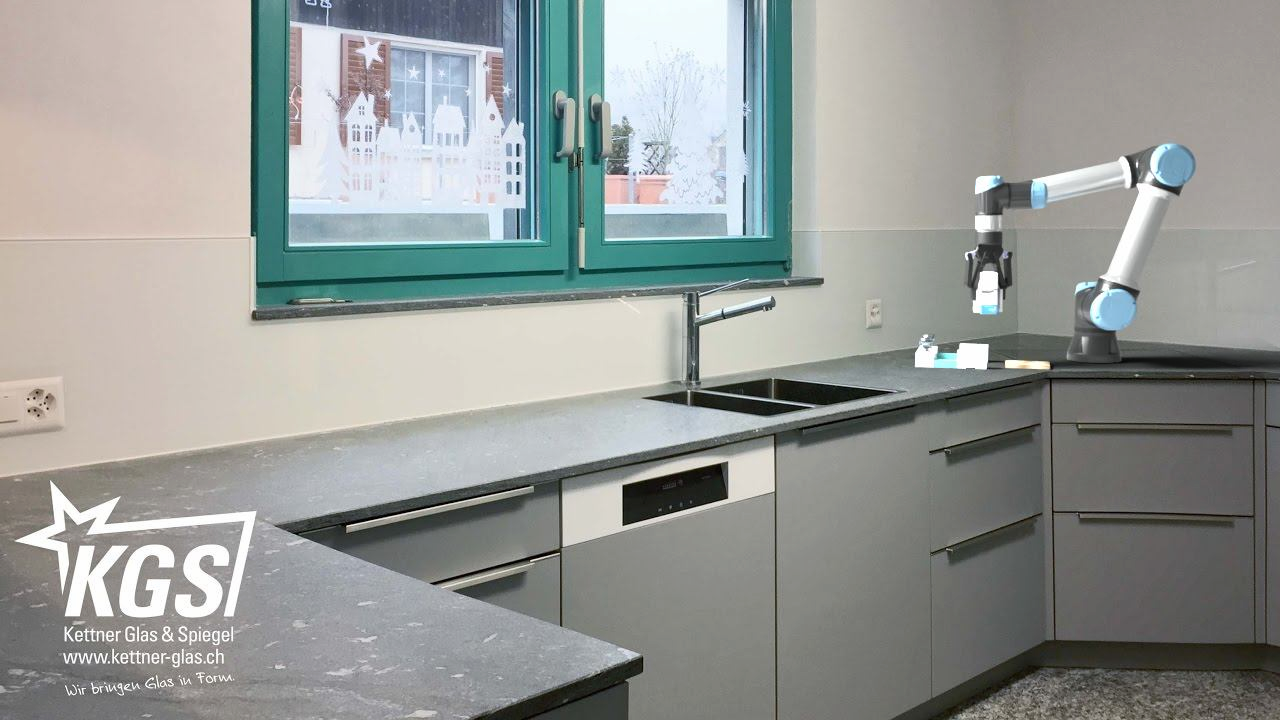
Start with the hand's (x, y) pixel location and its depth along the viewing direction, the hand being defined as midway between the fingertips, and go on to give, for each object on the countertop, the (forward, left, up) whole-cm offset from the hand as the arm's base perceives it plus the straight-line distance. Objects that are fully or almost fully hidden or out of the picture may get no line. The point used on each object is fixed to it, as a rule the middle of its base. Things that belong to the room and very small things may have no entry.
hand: (987, 311), depth 346 cm
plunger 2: (+17, +5, -15) cm, 23 cm away
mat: (-11, 0, -15) cm, 19 cm away
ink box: (0, 0, -1) cm, 1 cm away
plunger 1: (+17, -5, -14) cm, 23 cm away
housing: (+9, 0, -15) cm, 18 cm away
